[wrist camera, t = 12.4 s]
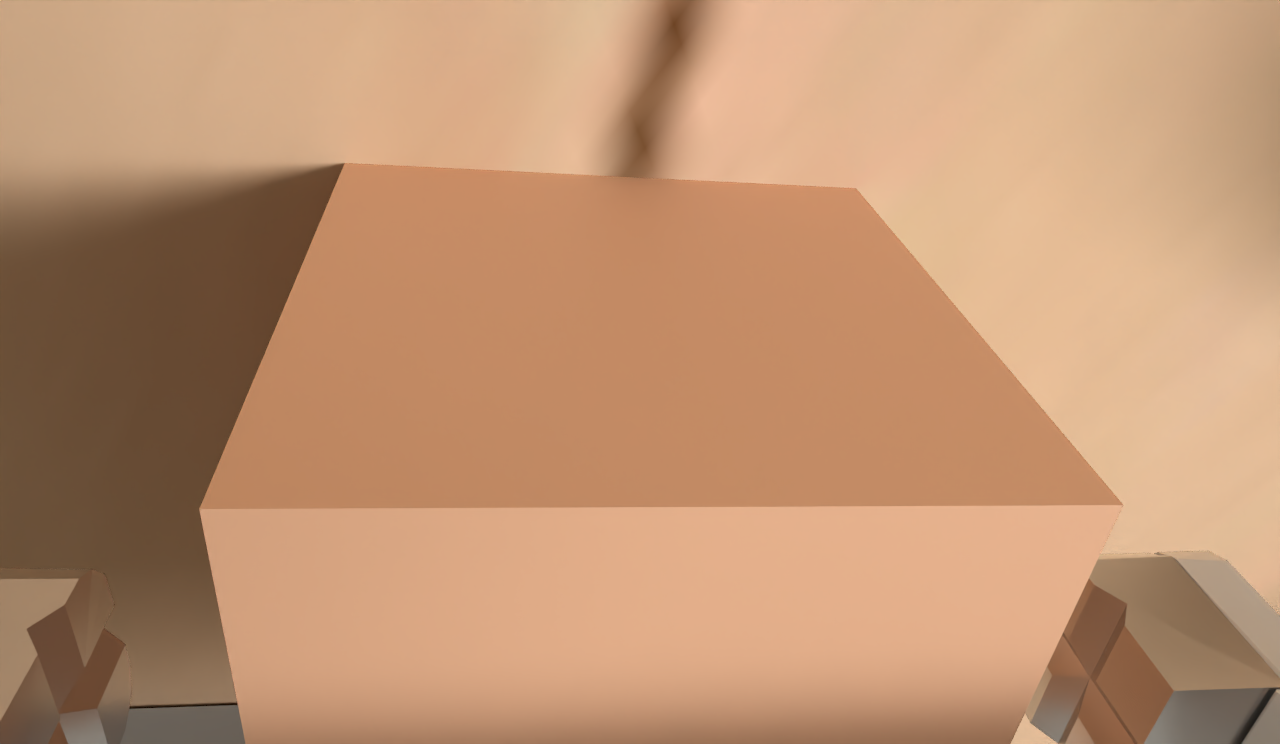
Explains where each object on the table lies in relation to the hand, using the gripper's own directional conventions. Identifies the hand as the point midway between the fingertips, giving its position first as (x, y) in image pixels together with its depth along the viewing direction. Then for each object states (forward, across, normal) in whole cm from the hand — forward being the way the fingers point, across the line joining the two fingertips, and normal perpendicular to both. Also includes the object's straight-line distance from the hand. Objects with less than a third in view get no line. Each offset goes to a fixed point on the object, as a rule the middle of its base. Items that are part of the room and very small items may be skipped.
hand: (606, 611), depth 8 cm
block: (+3, 0, 0) cm, 3 cm away
